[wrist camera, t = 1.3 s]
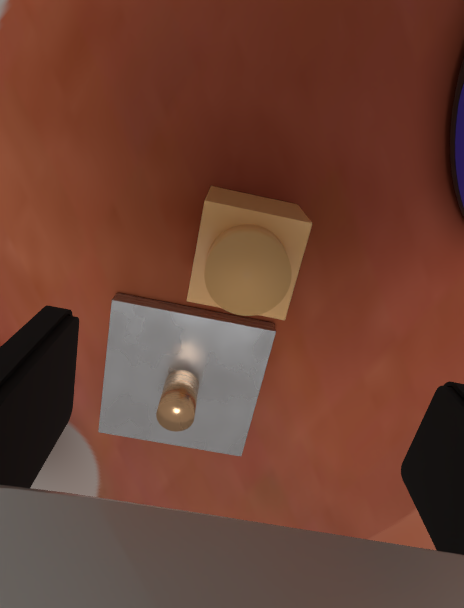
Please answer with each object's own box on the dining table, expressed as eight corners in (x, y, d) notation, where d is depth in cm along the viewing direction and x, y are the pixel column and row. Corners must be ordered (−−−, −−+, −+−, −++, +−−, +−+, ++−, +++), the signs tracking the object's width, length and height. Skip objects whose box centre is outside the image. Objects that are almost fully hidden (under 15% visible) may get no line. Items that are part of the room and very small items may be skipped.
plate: (117, 292, 26) (95, 323, 22) (274, 323, 27) (280, 358, 23) (103, 420, 30) (82, 467, 26) (241, 444, 30) (241, 493, 26)
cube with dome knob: (211, 185, 23) (201, 207, 17) (297, 204, 24) (319, 232, 17) (195, 269, 25) (182, 316, 19) (276, 285, 26) (288, 336, 19)
